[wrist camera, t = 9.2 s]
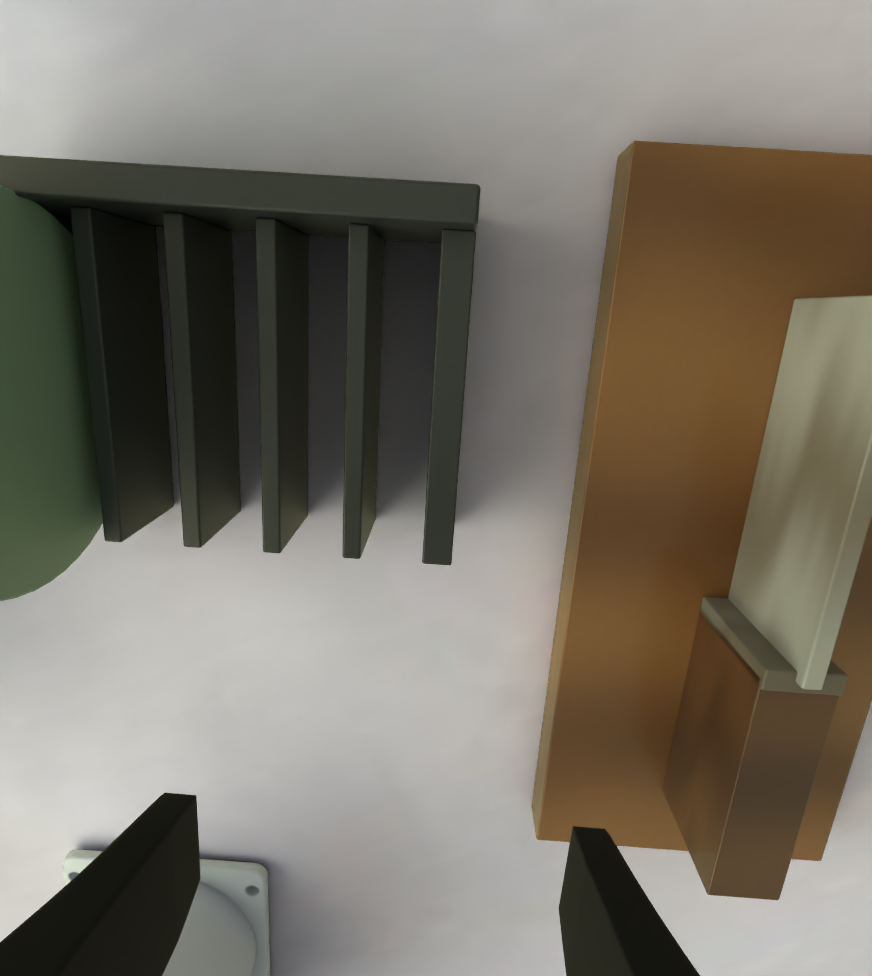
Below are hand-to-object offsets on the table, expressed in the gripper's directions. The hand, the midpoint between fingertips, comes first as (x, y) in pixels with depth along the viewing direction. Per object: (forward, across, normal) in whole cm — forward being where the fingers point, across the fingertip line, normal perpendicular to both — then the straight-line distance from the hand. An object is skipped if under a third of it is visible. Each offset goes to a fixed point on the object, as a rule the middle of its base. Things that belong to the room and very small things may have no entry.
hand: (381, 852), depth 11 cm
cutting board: (+9, -10, -3) cm, 14 cm away
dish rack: (+9, +5, -8) cm, 13 cm away
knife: (+8, -10, -3) cm, 13 cm away
